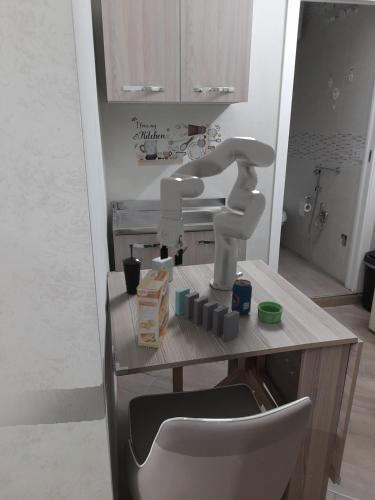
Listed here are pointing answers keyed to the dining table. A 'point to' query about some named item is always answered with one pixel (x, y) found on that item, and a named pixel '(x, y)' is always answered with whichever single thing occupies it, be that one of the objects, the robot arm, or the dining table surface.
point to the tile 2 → (190, 305)
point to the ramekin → (269, 311)
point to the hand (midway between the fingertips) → (171, 261)
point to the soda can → (241, 297)
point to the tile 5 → (219, 320)
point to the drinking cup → (132, 273)
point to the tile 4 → (209, 314)
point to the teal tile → (180, 300)
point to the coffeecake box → (153, 308)
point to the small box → (163, 266)
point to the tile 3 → (199, 310)
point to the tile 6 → (230, 326)
